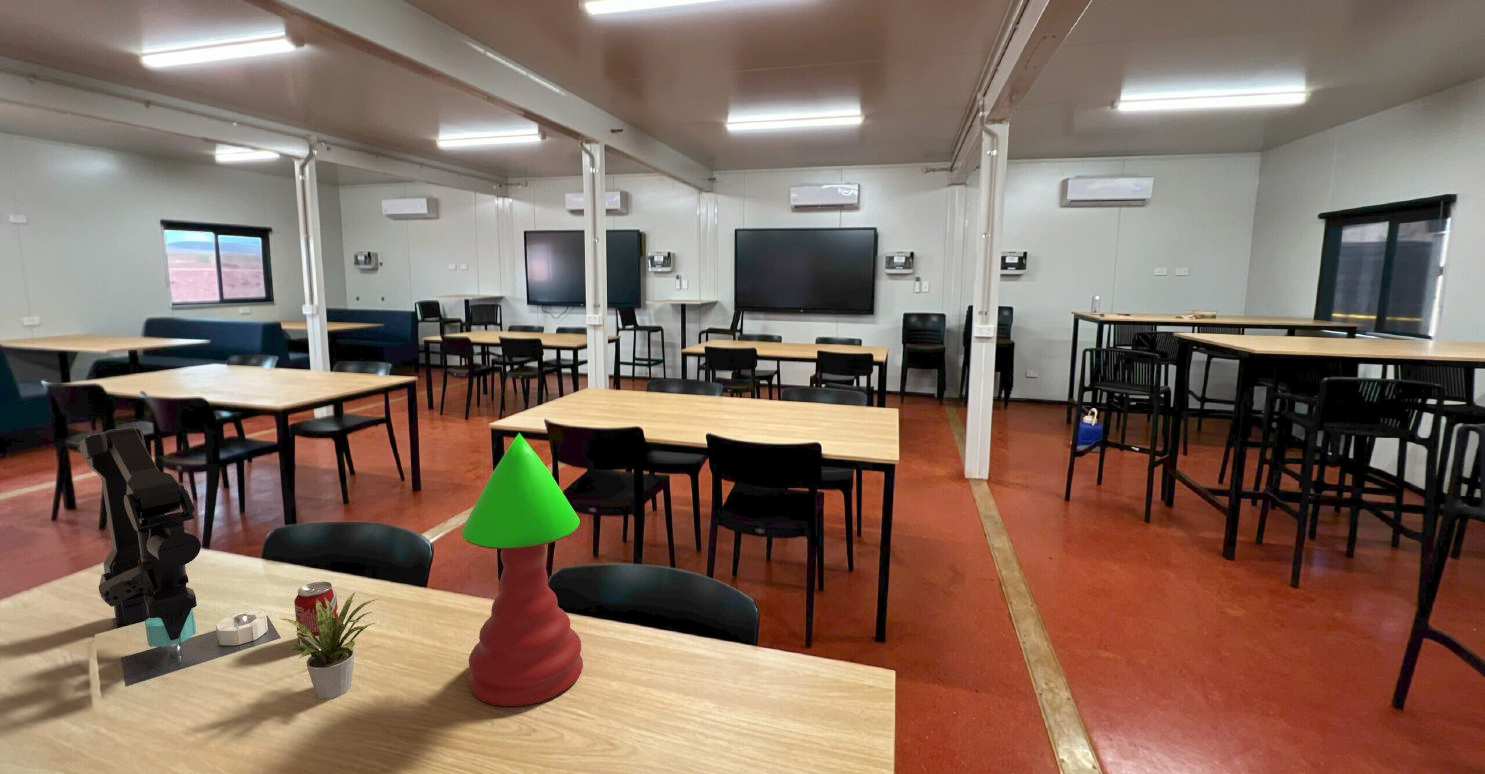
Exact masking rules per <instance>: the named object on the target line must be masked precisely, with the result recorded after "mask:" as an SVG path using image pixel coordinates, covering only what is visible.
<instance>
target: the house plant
mask: <svg viewBox="0 0 1485 774" xmlns="http://www.w3.org/2000/svg"><path fill="white" fill-rule="evenodd" d="M355 594H356V592H353V593H352V594H350V596H349V597H348V598H347V599H346V600H345V602H344V604H343V606H342V609H341V611H340V612H339V614H338V622H337V620H336V616H335V617H334V612H333V610H334V609H335V608H336V607H335V608H334V609H333V608H332V606H331V604H330V603H329V601H328V600H327V599H326V598H325V596H324V599H325V602H326V605H327V609H328V614H327V611H326V610H325V608H324V607H323V606H322V604H321V602H320V601H318V600H317V601H316V612H317V622H318V629H319V638H320V641H321V642H320V641H319V640H318V639H317V638H316V637H315V636H314V635H313V634H312V633H311V631H310V630H309V629H308V628H306V627H305V626H304V625H302V624H301V623H299V622H296V620H292V619H291V618H279V619H280V620H282V621H286V622H288V623H290V624H291V625H294V626H295V627H296V628H297V627H298V628H299V629H300V630H302V631H303V632H304V633H305V634H304V633H302V632H300V631H297V630H295V632H296V636H297V638H298V637H299V638H300V640H301V642H302V643H303V644H304V645H306V646H304V645H298V644H295V645H293V646H290V647H289V649H291V650H295V651H298V652H299V651H300V652H301V654H300V656H299V658H298V660H300V659H301V658H303V657H306V656H309V655H310V656H309V657H308V658H307V660H306V662H305V663H306V664H305V665H306V668H307V670H308V674H309V677H310V680H311V683H312V687H313V690H314V693H315V697H317V698H318V699H322V700H329V699H335V698H338V697H340V696H342V695H344V694H346V693H347V692H348V691H349V690H351V687H352V683H353V682H352V681H353V673H354V664H355V654H356V653H355V652H356V651H355V649H354V646H355V645H356V642H355V641H354V640H355V639H356V637H357V636H358V635H360V633H361V632H363V631H364V630H366V629H367V628H368V627H369V626H372V625H374V624H376V622H372V623H368V624H366V625H360V626H355V627H354V625H356V623H359V620H361V619H362V618H363V617H364V616H366V615H369V614H371V613H373V611H370V612H365V613H362V614H361V615H359V616H358V617H357V618H356V619H353V617H354V616H355V615H356V614H357V613H358V612H359V611H360V610H361V609H362V608H364V607H365V606H366V605H368V604H370V603H372V602H375V601H377V600H378V598H376V599H372V600H371V599H370V600H368V601H366V602H363V603H362V604H359V605H358V606H357V607H356V608H355V609H354V610H353V611H352V612H351V613H350V615H349V616H348V617H347V614H348V612H349V609H350V608H351V606H352V603H353V601H354V600H353V598H354V597H355ZM346 617H347V620H346V621H345V619H346ZM344 622H345V623H344ZM350 623H351V625H350V627H349V629H348V631H347V632H346V633H345V634H344V635H343V633H344V631H345V630H346V628H347V626H348V624H350ZM356 631H357V632H356ZM297 632H298V633H302V634H304V635H305V636H307V637H309V638H310V639H311V640H312V641H313V642H314V643H315V644H316V645H317V646H318V647H319V648H320V649H318V648H316V647H315V646H314V645H313V644H311V643H310V642H309V641H307V640H306V639H305V638H304V637H303V636H301V635H299V634H297ZM354 632H356V633H355V634H354V635H353V636H352V638H351V639H350V640H349V641H347V643H344V642H345V641H346V639H348V637H350V635H352V634H353V633H354ZM342 635H343V636H342ZM341 636H342V637H341Z"/></svg>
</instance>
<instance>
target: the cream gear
mask: <svg viewBox="0 0 1485 774" xmlns="http://www.w3.org/2000/svg"><path fill="white" fill-rule="evenodd" d="M241 614H247V616H248V624H246V625H242V626H239V627H235V617H236V616H238V615H241ZM266 616H267V615H266V614H265V611H263V610H246V611H242V612H239V613H236V614H232V615H229V616H227V617H226V616H225V618H223V619H221V620H220V621H219V622H218V623H216V624H215V630H216V632H217V640H218V641H219V645H234V646H235V645H240V644H243V643H246V642H250V641H253V640H256V639H258V638H259V637H260V636H262V635H263V634H264V633H266V632H267V630H268V628H267V618H266Z"/></svg>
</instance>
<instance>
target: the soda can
mask: <svg viewBox="0 0 1485 774" xmlns="http://www.w3.org/2000/svg"><path fill="white" fill-rule="evenodd" d="M337 594H338V593H337V591H336V589H334V588H333V584H332V583H331V582H330V581H315V582H311V583H308V584H305V585H303V586H301V587H299V588H298V589H297V596H296V597H295V598H294V601H293V602H294V612H295V621H296V622H299V623H301V624H302V625H304V626H305V627H306V628H308V629H309V630H310V631H311V633H312V634H313V635H314V636H315V637H316V638H317V639H318V640H319V641H320V638H319V629H318V622H317V612H316V601H317V600H318V601H320V602H321V604H322V606H323V607H324V608H325V610H326V611H327V614H328V609H327V605H326V602H325V599H324V596H325V598H326V599H327V600H328V601H329V603H330V604H331V606H332V608H333V609H334V608H335V607H336V608H335V609H334V610H333V612H334V617H335V616H336V620H337V622H338V617H339V608H338V607H339V605H338V597H337V596H338V595H337ZM296 631H300V632H302V633H304V632H303V631H302V630H300V629H299V628H298V627H296ZM302 633H298V632H296V635H297V634H299V635H301V636H303V637H304V638H305V639H306V640H307V641H309V642H310V643H311V644H313V645H314V646H315V647H316V648H318V649H319V650H321V649H320V648H319V647H318V646H317V645H316V644H315V643H314V642H313V641H312V640H311V639H310V638H309V637H307V636H305V635H304V634H305V633H304V634H302ZM320 642H321V641H320ZM297 645H304V644H303V643H302V642H301V640H300V638H299V637H298V636H297ZM304 646H306V645H304Z"/></svg>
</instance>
